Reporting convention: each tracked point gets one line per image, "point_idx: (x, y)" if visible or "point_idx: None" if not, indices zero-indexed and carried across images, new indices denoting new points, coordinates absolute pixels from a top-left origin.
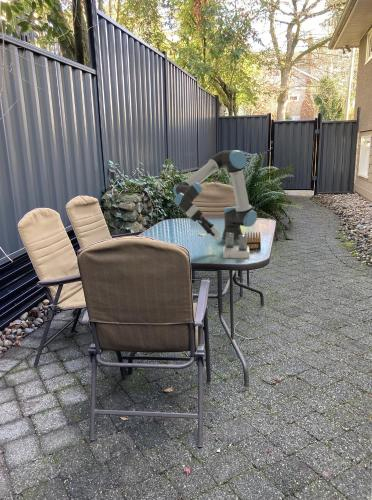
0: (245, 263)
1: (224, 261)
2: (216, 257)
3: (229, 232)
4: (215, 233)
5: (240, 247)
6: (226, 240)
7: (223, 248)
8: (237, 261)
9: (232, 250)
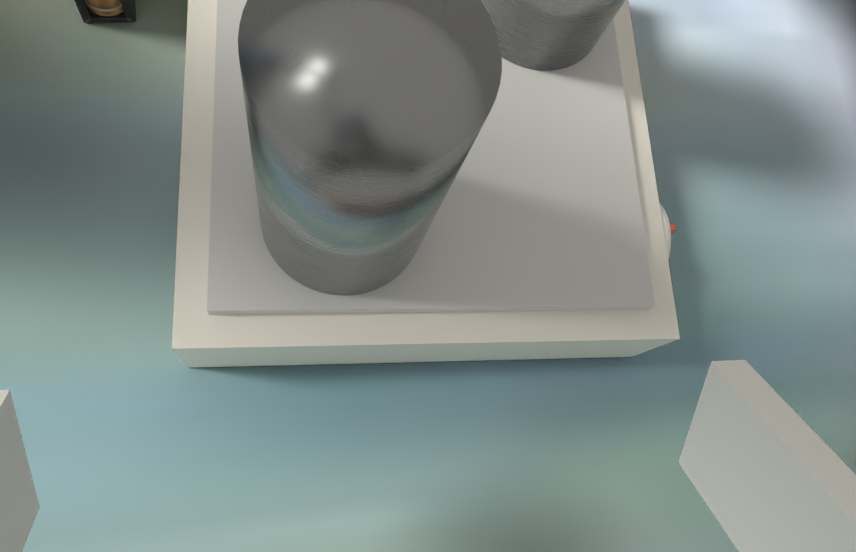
0: (836, 64)
1: (811, 323)
2: (623, 467)
3: (260, 47)
4: (849, 494)
5: (616, 12)
6: (421, 226)
7: (400, 343)
8: (775, 151)
9: (601, 170)
